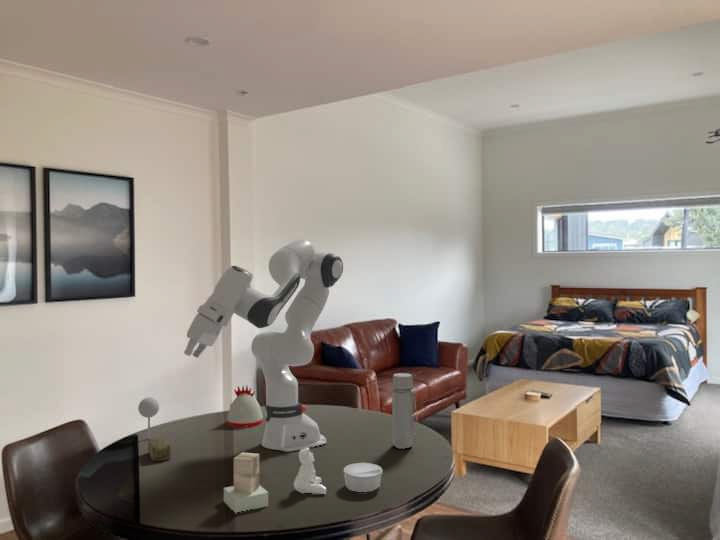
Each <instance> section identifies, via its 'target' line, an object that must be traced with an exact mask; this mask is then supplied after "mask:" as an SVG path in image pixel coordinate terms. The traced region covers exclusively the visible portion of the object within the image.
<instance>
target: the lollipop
mask: <svg viewBox="0 0 720 540" xmlns="http://www.w3.org/2000/svg"><path fill="white" fill-rule="evenodd" d="M159 411H160V403H159V402H158V400H157V399H156V398H154V397H145V398H143V399H142V400H141V401H140V402H139V404H138V413H139V415H140V416H142V417H144V418H147V439H148V440H150V439H151V422H150V421H151V418H153V417H154V416H156V415H157V414H158V412H159Z"/></svg>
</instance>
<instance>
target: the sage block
mask: <svg viewBox="0 0 720 540" xmlns="http://www.w3.org/2000/svg"><path fill="white" fill-rule="evenodd" d="M223 502H224V503H225V504H226V505H227V507H229V508H230V510H231V511H232V510H233V511H234V512H235V513H234V512H233V511H232V512H233V513H234V514H238V513H237V512H240V513H242V512H241V511H244V512H247V511H246V510H248V511H251V510H250V509H253V510H257V509H261V508H264V507H266V508H267V507H269V492H268V491H267V490H266V489H265V488H264V487H262V485H260V484H259V488H258V489H257V490H256V491H254V492H253V493H252V494H244V493H235V492H234V485H231V486H226V487H223Z"/></svg>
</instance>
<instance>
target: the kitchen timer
mask: <svg viewBox="0 0 720 540" xmlns="http://www.w3.org/2000/svg"><path fill="white" fill-rule="evenodd" d="M233 391H234V393H235V396H236V397H235V399H234V400H233V401H232V402H231V403H230V405H229V410H228V413H227V418H226V424H227V426H229V427H231V426H233V427H232V428H237V427H246V428H253V427H257V426H260V425H262V424H263V423H264V419H263V418H264V417H263V412H262V409H261V405H260V404H259V402H258V400H257V399H256V398H255V397H254V395H255V392H256V390H254V391H253V392H252V393H251V391H252V387H250V389H249V387H248V385H245V387H244V385H242V387H241V389H240V386H239V385H237V390H236V388H234V389H233Z"/></svg>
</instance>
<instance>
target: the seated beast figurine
mask: <svg viewBox="0 0 720 540" xmlns="http://www.w3.org/2000/svg"><path fill="white" fill-rule="evenodd" d="M298 458H299V461H300V463H301V465H300V466H299V470H298V472H297V473H298V474H297V475H296V477H295V479H294V481H293V486H294V489H295V492H296V491H297V492H298V493H299V492H300V494H304V493H312V494H311V495H319V494H324V495H326V494H327V486H325V485H323V484H322V478H321V477H320V476H318V475H317V476H316V469H315V467H314V462H315V457H314V453H313V452H312V451H310V448H304V449H300V450H299V452H298ZM320 483H321V484H320Z"/></svg>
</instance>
